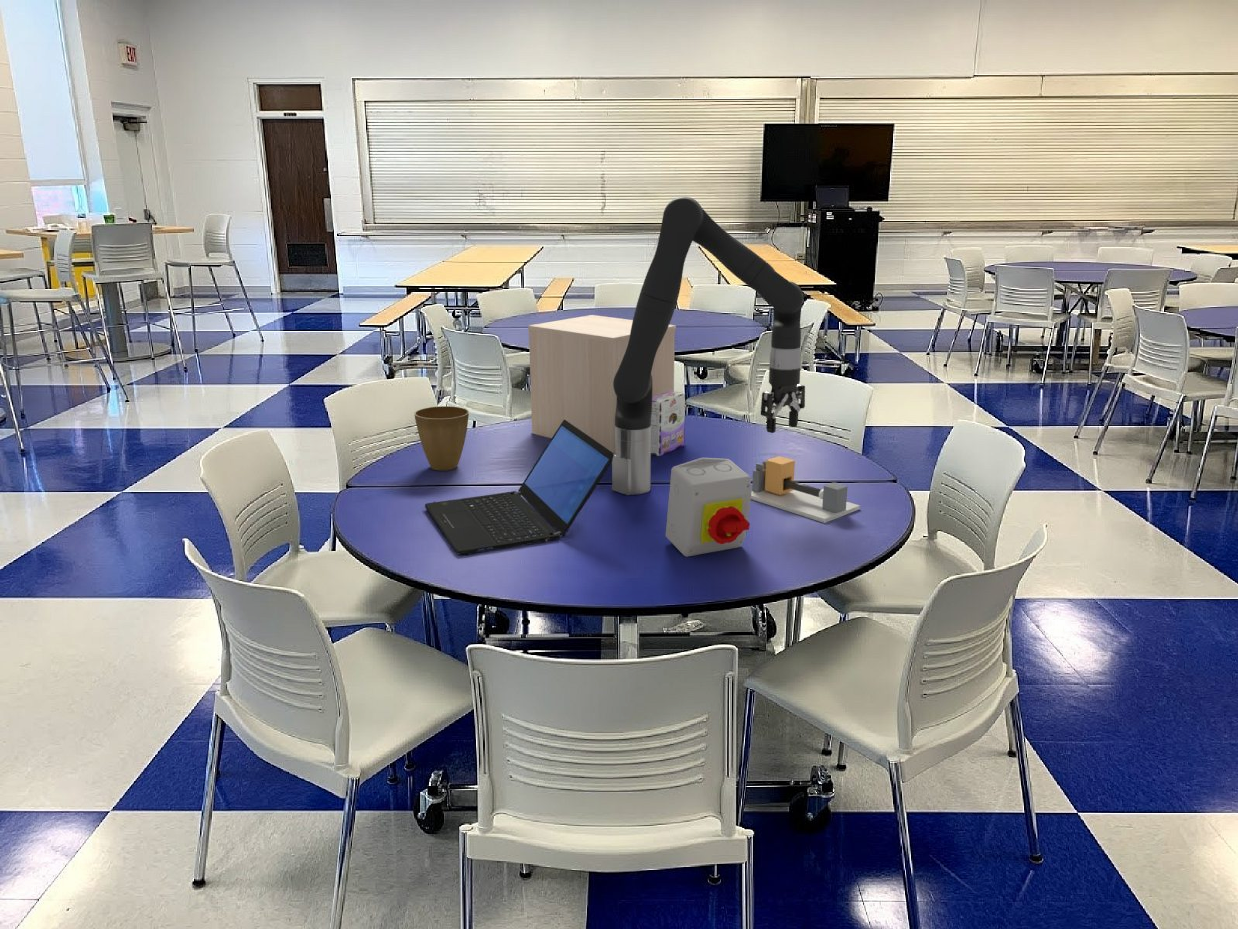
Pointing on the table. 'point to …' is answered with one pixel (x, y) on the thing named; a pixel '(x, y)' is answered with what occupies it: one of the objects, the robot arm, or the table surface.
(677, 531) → the electrical switch box
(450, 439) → the plant pot
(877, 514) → the table surface
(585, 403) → the cabinet
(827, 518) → the cord rig
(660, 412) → the candy box
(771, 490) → the sleeve
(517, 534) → the laptop
